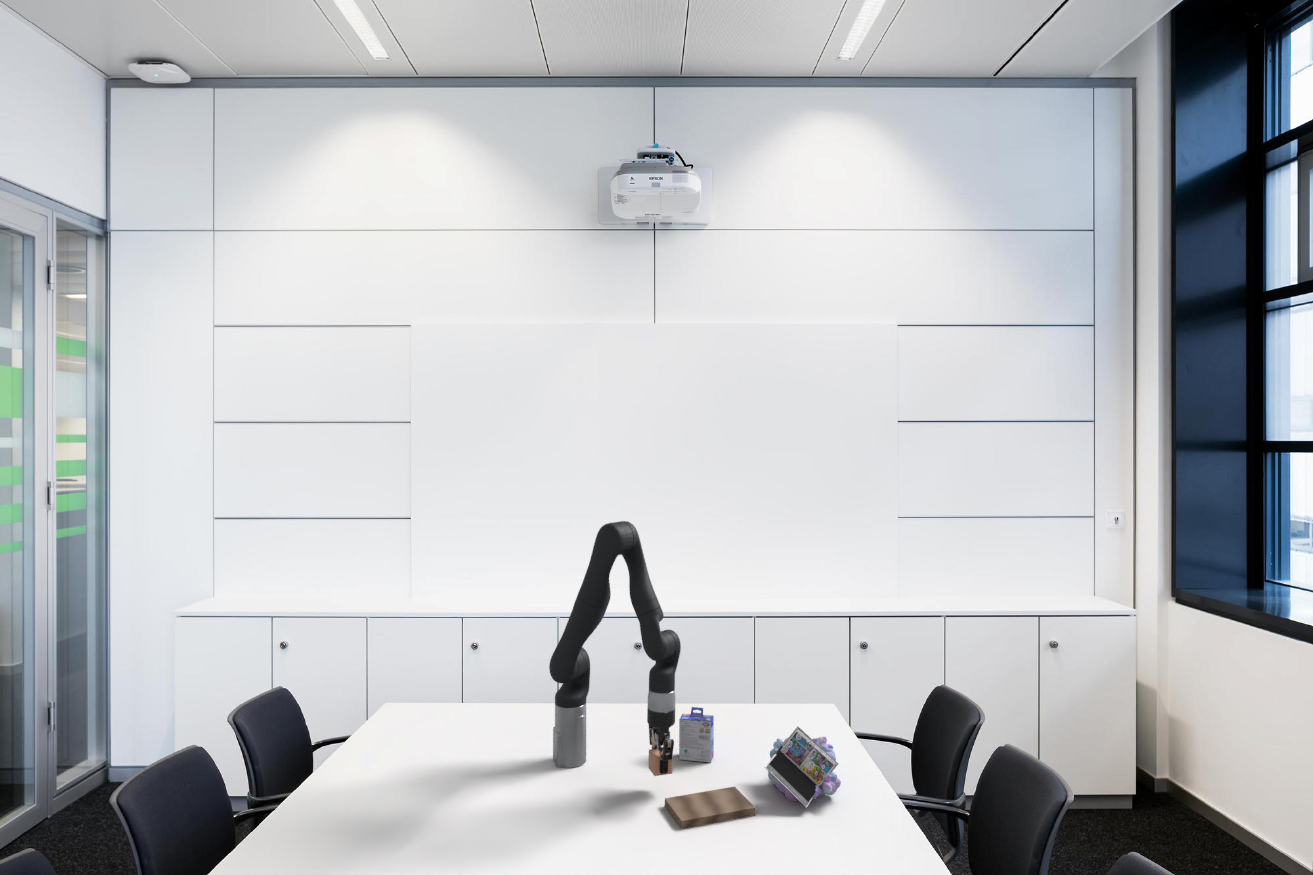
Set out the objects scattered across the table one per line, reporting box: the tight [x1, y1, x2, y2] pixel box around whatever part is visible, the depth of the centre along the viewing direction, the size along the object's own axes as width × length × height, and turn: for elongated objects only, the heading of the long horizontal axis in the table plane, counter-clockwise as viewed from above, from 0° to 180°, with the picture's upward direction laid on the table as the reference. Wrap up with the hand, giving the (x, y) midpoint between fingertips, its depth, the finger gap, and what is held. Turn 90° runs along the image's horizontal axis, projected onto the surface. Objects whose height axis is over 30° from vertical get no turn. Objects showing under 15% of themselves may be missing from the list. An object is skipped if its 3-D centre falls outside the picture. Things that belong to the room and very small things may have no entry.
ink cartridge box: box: [678, 706, 715, 763], centre depth 222 cm, size 10×6×14 cm, turn 78°
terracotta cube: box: [647, 748, 673, 777], centre depth 201 cm, size 5×5×5 cm
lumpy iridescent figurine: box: [764, 726, 842, 808], centre depth 201 cm, size 20×22×18 cm
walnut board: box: [664, 786, 756, 830], centre depth 190 cm, size 20×12×2 cm, turn 110°
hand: (660, 768), depth 201 cm, fingers closed on terracotta cube, 5 cm apart
